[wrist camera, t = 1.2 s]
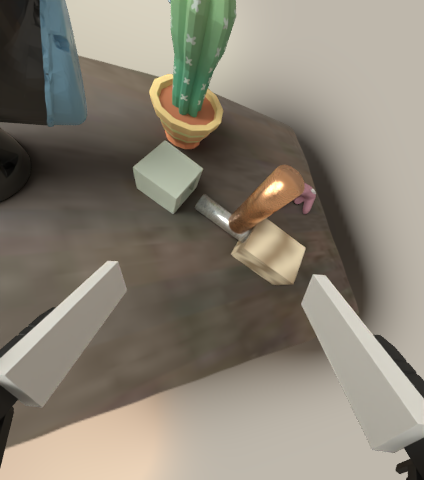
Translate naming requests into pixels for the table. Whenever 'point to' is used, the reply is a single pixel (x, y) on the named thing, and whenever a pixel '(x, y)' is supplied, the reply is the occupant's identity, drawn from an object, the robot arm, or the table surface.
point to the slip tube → (255, 203)
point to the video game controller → (306, 198)
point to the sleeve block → (270, 253)
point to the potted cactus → (193, 70)
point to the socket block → (167, 176)
